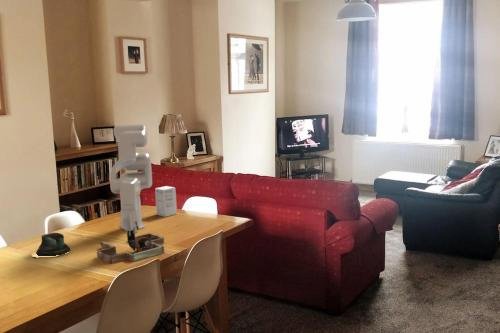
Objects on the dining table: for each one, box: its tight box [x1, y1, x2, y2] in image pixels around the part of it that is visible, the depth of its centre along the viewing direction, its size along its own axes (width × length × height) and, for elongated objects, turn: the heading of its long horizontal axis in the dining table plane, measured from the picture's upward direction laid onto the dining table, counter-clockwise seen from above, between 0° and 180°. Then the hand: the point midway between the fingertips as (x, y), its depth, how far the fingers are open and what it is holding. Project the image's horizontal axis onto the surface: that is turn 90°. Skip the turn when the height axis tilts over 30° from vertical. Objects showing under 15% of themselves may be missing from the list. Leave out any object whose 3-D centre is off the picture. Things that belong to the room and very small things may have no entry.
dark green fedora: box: [35, 232, 71, 256], centre depth 252 cm, size 20×20×9 cm
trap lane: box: [96, 232, 165, 264], centre depth 253 cm, size 30×35×3 cm
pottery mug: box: [127, 237, 153, 253], centre depth 249 cm, size 12×9×8 cm
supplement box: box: [154, 185, 178, 218], centre depth 321 cm, size 10×9×17 cm
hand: (131, 242), depth 253 cm, fingers closed
